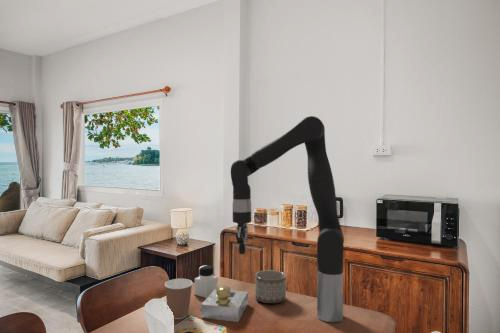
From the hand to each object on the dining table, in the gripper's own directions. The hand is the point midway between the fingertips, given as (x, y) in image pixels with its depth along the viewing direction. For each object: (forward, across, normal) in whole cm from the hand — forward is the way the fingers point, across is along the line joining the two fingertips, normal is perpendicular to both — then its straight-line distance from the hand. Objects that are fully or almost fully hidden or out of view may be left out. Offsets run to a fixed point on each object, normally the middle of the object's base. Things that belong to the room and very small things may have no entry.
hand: (242, 253), depth 138 cm
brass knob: (+21, -10, +6) cm, 24 cm away
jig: (+21, -6, +5) cm, 22 cm away
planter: (+21, +8, -10) cm, 25 cm away
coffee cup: (+21, -14, +22) cm, 33 cm away
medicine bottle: (+21, +8, +18) cm, 29 cm away
